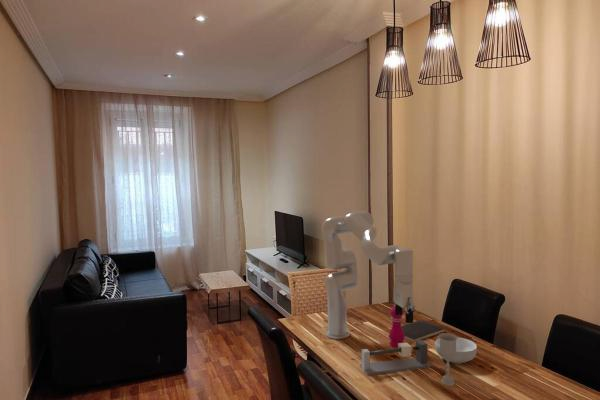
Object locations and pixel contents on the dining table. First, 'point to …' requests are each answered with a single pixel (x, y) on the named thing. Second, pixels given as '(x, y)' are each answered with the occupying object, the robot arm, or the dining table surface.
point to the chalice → (447, 354)
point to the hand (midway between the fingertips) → (403, 318)
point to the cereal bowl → (460, 350)
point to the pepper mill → (396, 329)
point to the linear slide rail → (395, 364)
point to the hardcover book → (420, 330)
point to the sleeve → (404, 349)
